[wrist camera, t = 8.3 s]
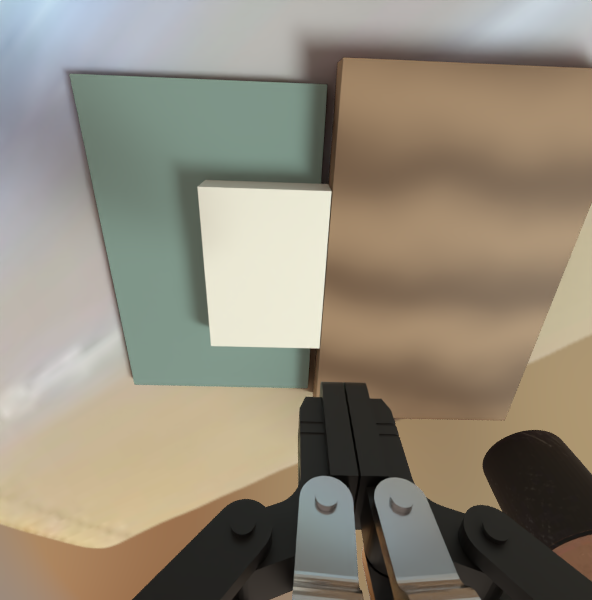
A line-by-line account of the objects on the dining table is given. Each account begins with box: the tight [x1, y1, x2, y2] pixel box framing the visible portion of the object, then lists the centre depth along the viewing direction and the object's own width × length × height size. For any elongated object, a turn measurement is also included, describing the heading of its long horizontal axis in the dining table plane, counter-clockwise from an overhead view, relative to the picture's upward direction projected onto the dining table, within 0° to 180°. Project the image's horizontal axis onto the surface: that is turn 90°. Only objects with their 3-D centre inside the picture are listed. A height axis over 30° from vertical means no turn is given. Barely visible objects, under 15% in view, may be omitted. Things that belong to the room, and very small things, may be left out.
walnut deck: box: [313, 57, 592, 420], centre depth 23 cm, size 22×14×2 cm, turn 178°
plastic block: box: [197, 180, 332, 348], centre depth 23 cm, size 10×7×2 cm
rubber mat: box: [69, 74, 327, 388], centre depth 24 cm, size 20×13×1 cm, turn 178°
